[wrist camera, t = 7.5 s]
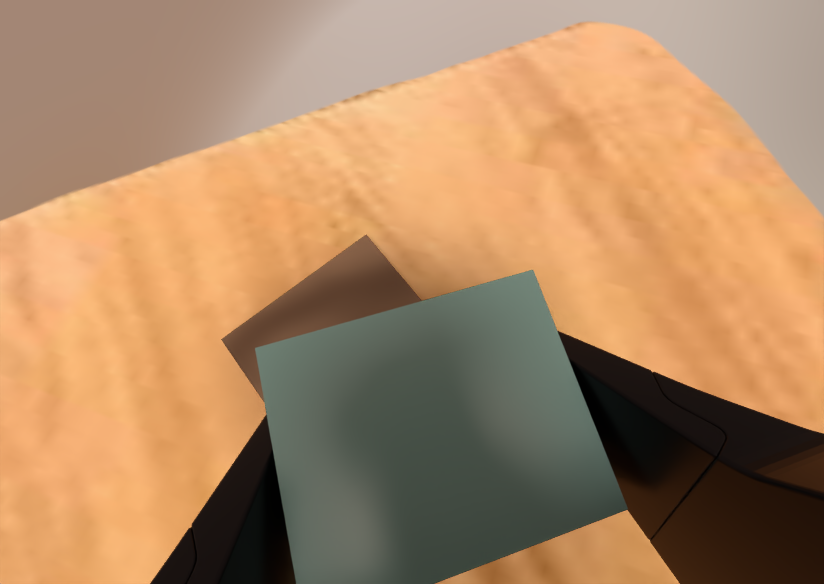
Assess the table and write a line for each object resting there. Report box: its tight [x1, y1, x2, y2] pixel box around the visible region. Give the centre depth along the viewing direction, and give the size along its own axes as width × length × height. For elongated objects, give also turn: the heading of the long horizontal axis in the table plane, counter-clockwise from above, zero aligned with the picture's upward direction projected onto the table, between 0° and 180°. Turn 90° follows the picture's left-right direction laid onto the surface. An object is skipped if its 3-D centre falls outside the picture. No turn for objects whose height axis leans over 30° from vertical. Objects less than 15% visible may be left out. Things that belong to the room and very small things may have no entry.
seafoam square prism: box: [255, 270, 628, 584], centre depth 11 cm, size 6×7×9 cm
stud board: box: [221, 235, 421, 403], centre depth 19 cm, size 20×13×5 cm, turn 39°
